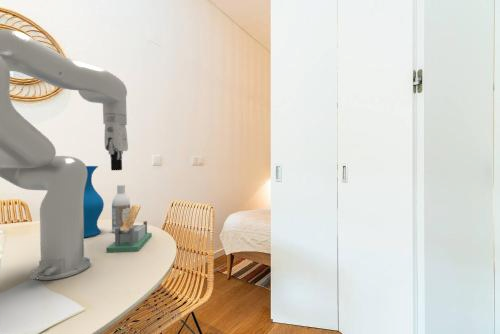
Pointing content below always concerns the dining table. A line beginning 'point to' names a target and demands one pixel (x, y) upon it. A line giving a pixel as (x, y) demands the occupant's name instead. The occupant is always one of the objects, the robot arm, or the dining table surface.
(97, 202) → the vase
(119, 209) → the bath foam
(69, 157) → the robot arm
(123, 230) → the tan wooden bar
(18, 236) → the dining table surface
